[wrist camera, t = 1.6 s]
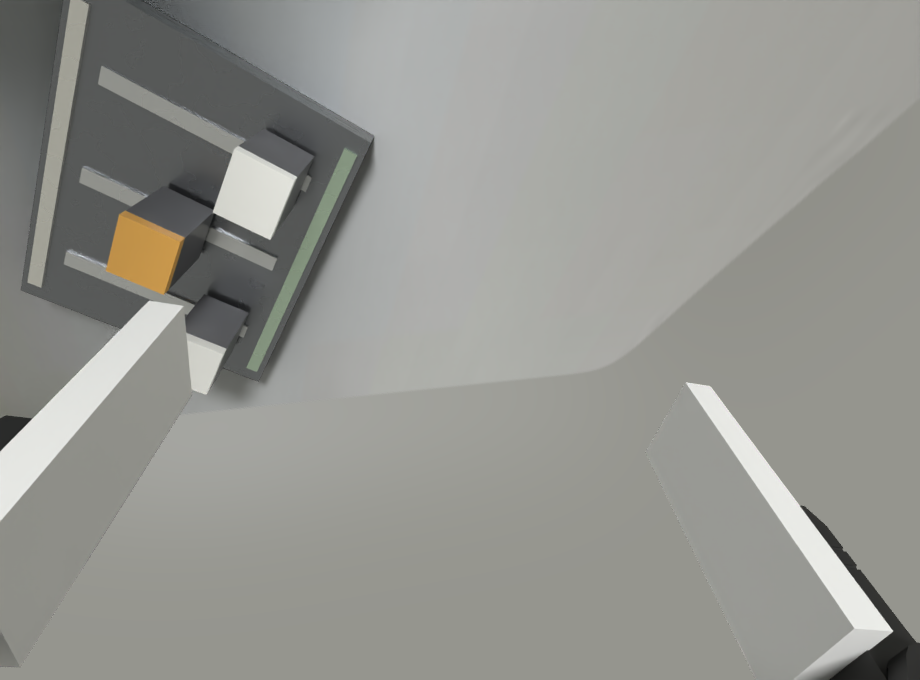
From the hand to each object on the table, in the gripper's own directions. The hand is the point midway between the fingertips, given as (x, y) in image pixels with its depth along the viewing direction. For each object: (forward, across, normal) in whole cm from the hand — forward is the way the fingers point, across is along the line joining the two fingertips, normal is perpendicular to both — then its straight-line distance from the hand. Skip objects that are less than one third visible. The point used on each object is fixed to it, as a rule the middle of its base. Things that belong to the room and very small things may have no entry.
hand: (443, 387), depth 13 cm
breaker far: (+20, -13, -13) cm, 27 cm away
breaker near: (+20, -9, -1) cm, 22 cm away
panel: (+22, -15, -6) cm, 28 cm away
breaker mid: (+20, -15, -6) cm, 26 cm away
